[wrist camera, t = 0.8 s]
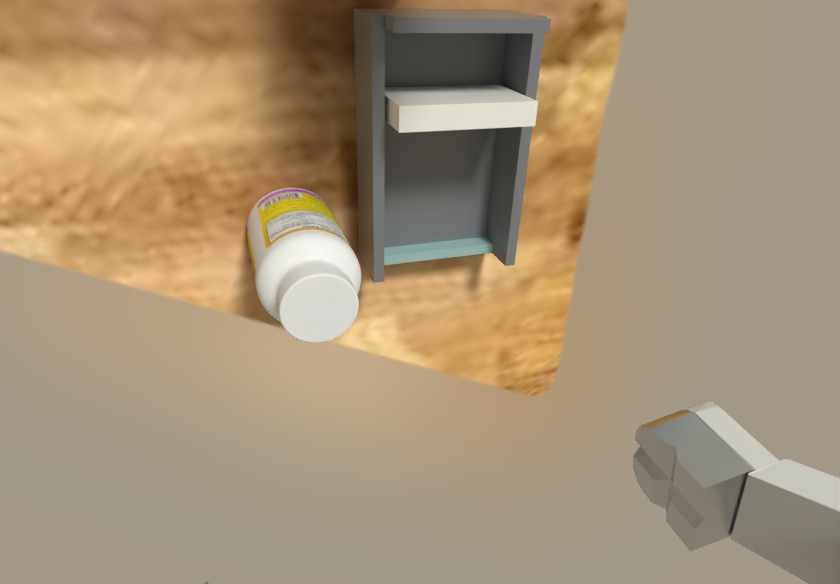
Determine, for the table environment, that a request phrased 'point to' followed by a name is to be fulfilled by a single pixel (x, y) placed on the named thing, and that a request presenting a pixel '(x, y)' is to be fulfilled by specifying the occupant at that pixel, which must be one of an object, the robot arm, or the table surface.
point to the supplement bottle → (303, 265)
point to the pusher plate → (457, 108)
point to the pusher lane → (440, 135)
